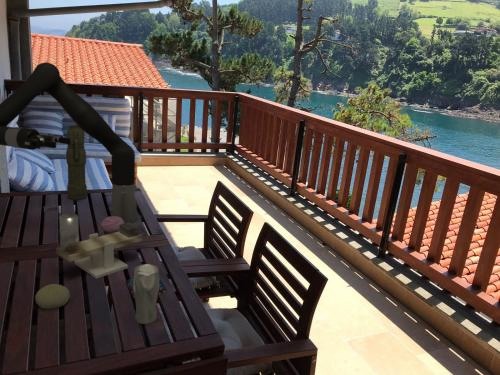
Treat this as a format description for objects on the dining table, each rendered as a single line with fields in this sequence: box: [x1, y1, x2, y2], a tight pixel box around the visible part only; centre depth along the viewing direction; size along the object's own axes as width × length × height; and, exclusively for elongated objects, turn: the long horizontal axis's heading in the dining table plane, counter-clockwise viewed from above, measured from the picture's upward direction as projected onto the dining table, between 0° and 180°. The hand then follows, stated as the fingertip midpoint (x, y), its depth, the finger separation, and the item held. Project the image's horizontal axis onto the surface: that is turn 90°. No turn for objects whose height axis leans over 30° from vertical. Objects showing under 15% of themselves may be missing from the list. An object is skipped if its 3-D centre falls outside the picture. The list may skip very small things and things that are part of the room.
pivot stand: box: [74, 232, 129, 279], centre depth 153 cm, size 12×14×10 cm
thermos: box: [65, 125, 88, 202], centre depth 216 cm, size 9×12×35 cm
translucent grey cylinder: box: [58, 213, 80, 253], centre depth 142 cm, size 6×6×11 cm
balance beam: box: [55, 222, 143, 263], centre depth 152 cm, size 27×8×5 cm, turn 138°
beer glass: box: [132, 263, 160, 325], centre depth 124 cm, size 7×7×15 cm
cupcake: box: [100, 216, 124, 236], centre depth 173 cm, size 9×9×10 cm
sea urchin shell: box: [34, 283, 71, 310], centre depth 130 cm, size 9×8×8 cm
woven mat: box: [125, 278, 167, 299], centre depth 142 cm, size 10×11×2 cm
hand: (63, 143), depth 160 cm, fingers open, 8 cm apart
